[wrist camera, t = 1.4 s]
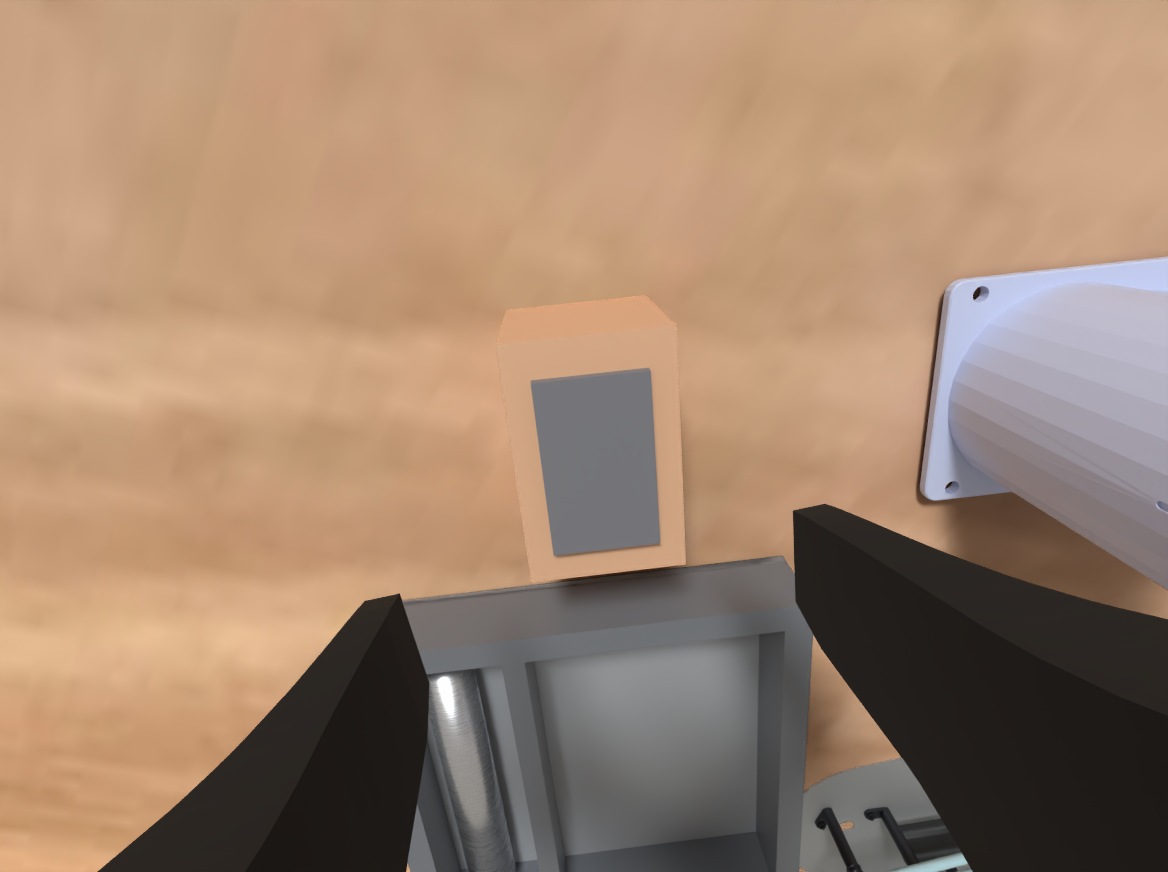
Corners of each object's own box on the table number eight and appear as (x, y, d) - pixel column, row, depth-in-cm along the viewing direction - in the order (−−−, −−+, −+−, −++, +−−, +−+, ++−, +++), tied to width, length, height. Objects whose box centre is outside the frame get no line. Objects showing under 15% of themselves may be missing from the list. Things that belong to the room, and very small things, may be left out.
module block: (645, 294, 20) (679, 327, 15) (656, 487, 22) (688, 570, 17) (506, 309, 20) (494, 347, 15) (533, 501, 22) (531, 588, 17)
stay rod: (431, 642, 24) (408, 680, 22) (479, 645, 23) (459, 684, 22) (480, 846, 28) (464, 892, 26) (521, 852, 28) (507, 899, 26)
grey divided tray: (782, 555, 24) (814, 604, 21) (773, 834, 29) (797, 901, 27) (369, 604, 23) (345, 660, 20) (444, 877, 29) (434, 949, 26)
